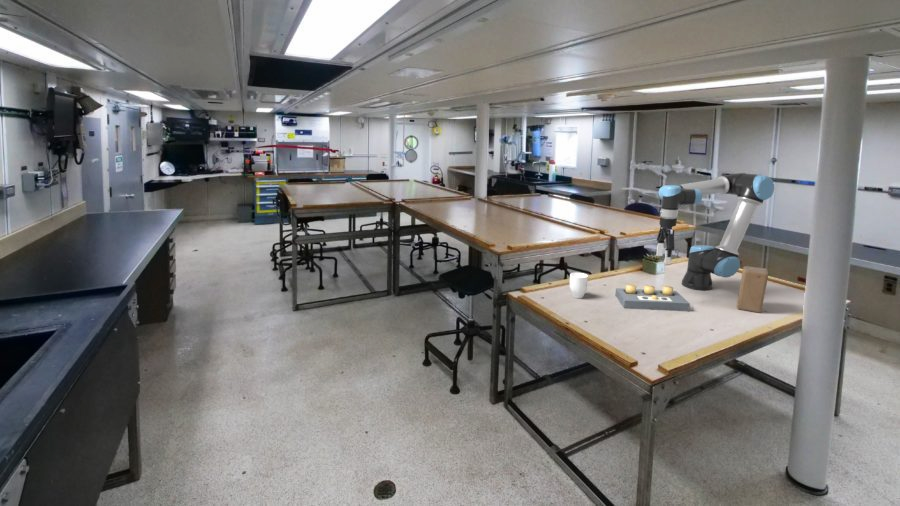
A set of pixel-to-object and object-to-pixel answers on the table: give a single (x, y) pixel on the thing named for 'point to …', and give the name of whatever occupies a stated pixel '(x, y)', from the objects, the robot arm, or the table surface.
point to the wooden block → (752, 289)
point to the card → (654, 298)
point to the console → (634, 302)
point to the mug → (578, 284)
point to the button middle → (649, 290)
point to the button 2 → (667, 291)
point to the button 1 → (630, 289)
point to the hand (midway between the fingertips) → (663, 259)
